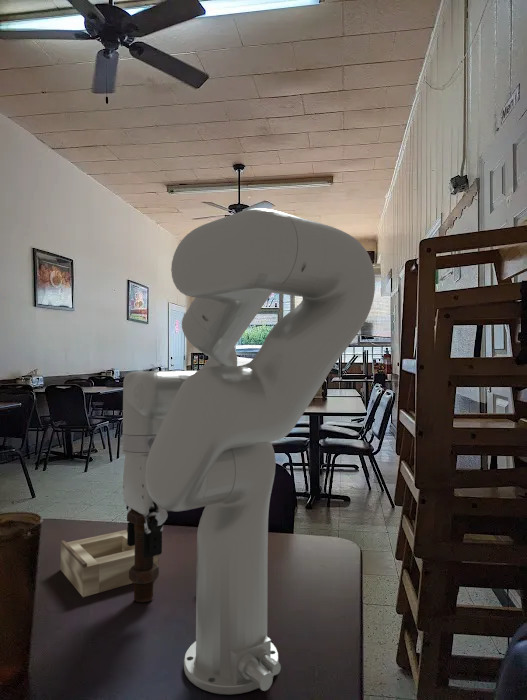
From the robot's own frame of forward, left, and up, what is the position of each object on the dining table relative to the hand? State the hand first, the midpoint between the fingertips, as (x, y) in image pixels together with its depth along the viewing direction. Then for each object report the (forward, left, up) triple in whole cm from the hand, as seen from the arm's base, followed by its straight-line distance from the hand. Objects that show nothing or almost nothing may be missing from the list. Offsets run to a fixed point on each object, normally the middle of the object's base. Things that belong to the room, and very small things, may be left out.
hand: (144, 548), depth 83 cm
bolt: (0, 0, -9) cm, 9 cm away
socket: (+14, +1, -9) cm, 16 cm away
